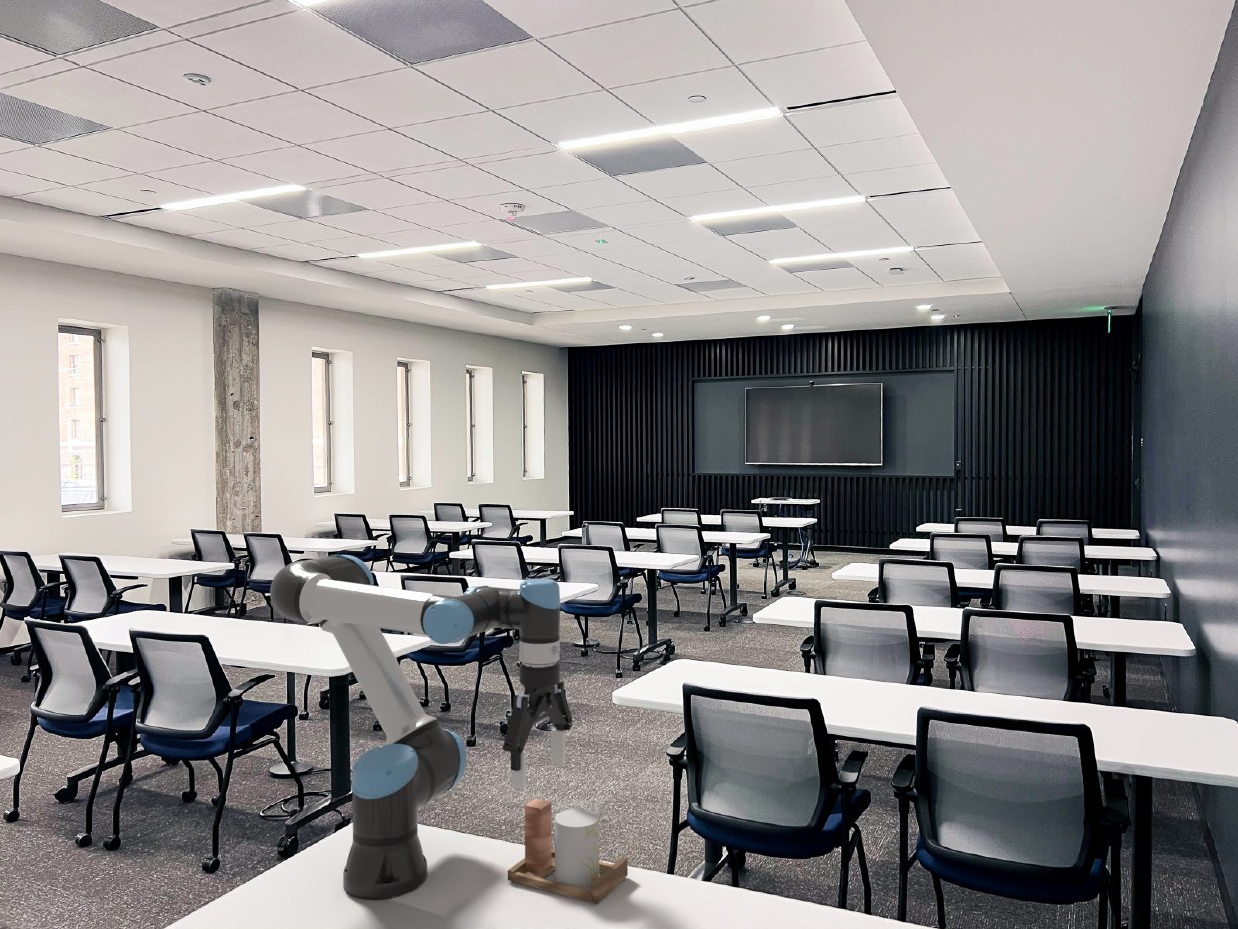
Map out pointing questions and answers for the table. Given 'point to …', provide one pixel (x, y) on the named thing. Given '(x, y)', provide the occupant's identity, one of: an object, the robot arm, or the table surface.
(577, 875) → the cup
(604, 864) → the sled
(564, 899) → the table surface
